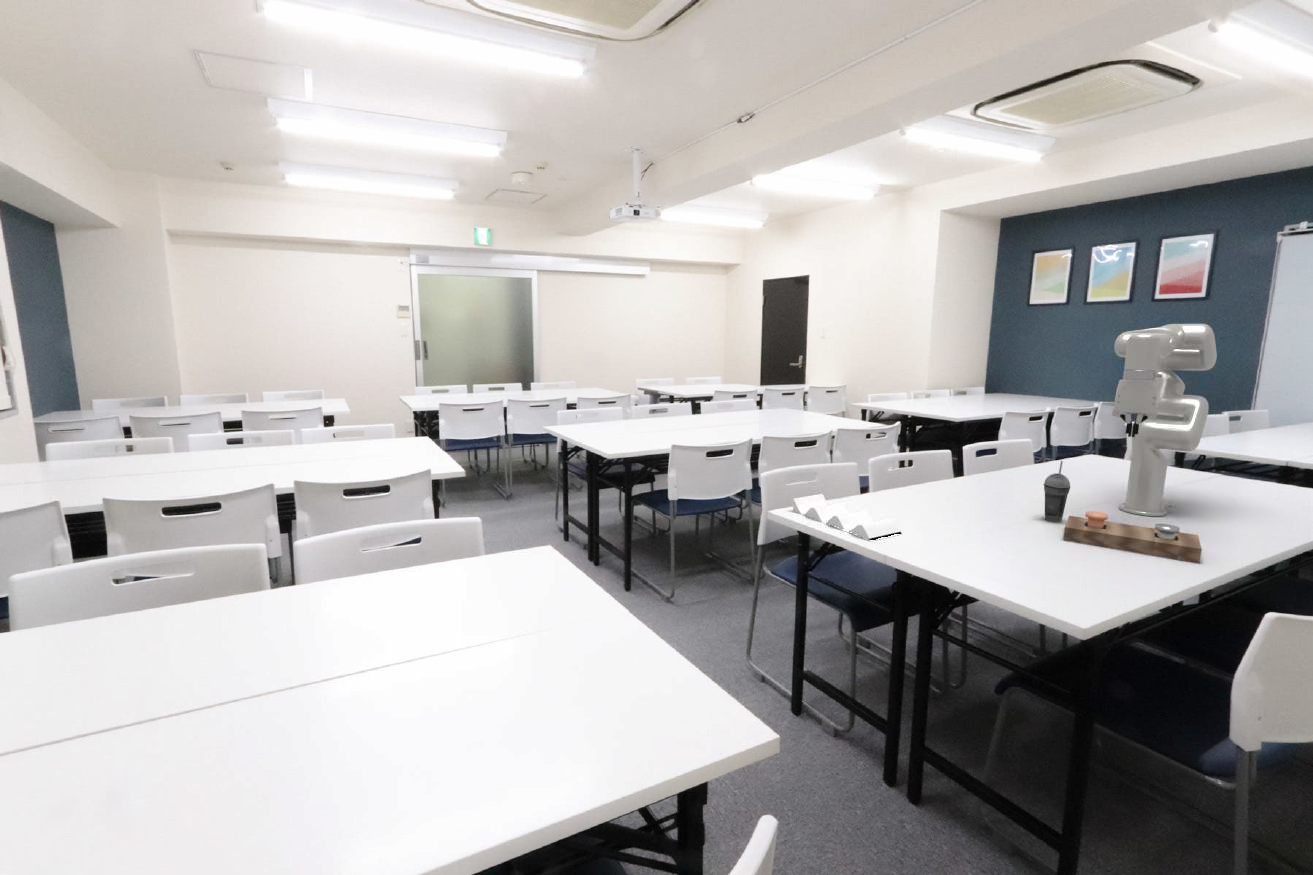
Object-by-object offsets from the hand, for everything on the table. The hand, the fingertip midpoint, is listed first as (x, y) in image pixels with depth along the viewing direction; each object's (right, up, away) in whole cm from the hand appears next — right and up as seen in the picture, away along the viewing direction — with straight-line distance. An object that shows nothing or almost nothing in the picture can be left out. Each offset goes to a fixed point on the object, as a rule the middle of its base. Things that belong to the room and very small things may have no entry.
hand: (1131, 436), depth 182 cm
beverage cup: (-15, -28, +13) cm, 34 cm away
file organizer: (-83, -29, +12) cm, 89 cm away
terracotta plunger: (-15, -29, -5) cm, 33 cm away
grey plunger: (-2, -31, -14) cm, 35 cm away
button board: (-8, -31, -9) cm, 34 cm away
